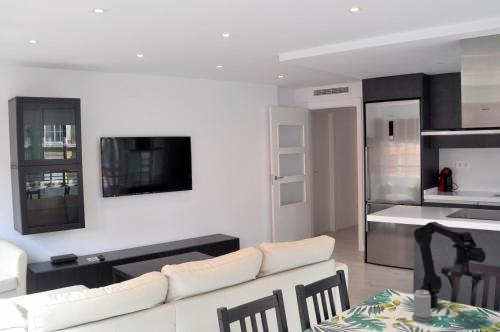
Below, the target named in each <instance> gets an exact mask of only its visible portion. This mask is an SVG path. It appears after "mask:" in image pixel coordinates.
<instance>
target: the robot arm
mask: <svg viewBox="0 0 500 332" xmlns="http://www.w3.org/2000/svg"><path fill="white" fill-rule="evenodd" d="M435 233H437V234H440V235H442V236H445V237H447V238H449V239H450V241H452V242H453V243H454V244H453V245H451V246H452V248H454V249H455V253H456V254H455V260H454V263H453V265H452V266H450V265H445V266H442V268H441V269H440V271H441V272H440V273H441V274H443V276H444V277H446V278H448V281H449V284H450V286H451V289H452V290H454V289H455V287H456V284H455V283H456V278H459V279H460V278H462V277H463V276H466V277H471V279H470V280H471V293H472V294H474V293H475V291H476V289H477V287H478V284H479V283H480V282H481V281H483V280H485V279H486V277H487V276H486V273H485V272H484V271H477V270H476V271H474V272H471V268H470V267H471V266H470V263H471V261H472V262H476V263H480V264H482V263H484V262H485V261H486V257H487V254H486V252H485V251H484V250H483V247H481V246H479V247H478V246H477V245H478V244H477V243H476V242H475V240H474V238H473V237H472V234H471V232H469V231H468V230H464V229H463V230H462V229H455V228H451V227H449V226H447V225H444V224H441V223H439V222H437V221H431V222H428V223H426V224H424V225H422V226H421V227H418V228H416V229H414V231H413V237H414V240H415V242H416V243H417V244H418V245H419V247H420V248H419V249H420V255H421V259H422V265H423V271H424V276H423V279H422V286H420V288H419V289H418V290H426V291H428V292H429V294H430V295H431V308H432V309H433V308H435V307H437V306H439V303H438V296H437V294H440V291H441V289H442V285H443V283H442V279H441V276H439V275H437V273H436V271H435V266H434V260H433V253H432V249H431V244H432V240H433V235H434V234H435Z"/></svg>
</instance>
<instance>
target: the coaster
mask: <svg viewBox="0 0 500 332" xmlns="http://www.w3.org/2000/svg"><path fill="white" fill-rule="evenodd" d="M411 317H412V320H413V321H415V322H417V321H418V323H426V324H427V323H432V322H433V320H434V319H433V318H434V317H433V316H432V315H431V316H430V317H429V318H426V319H422V318H418V317H416V316H415V315H414V313H413V314H412V316H411Z"/></svg>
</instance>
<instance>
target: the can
mask: <svg viewBox="0 0 500 332" xmlns="http://www.w3.org/2000/svg"><path fill="white" fill-rule="evenodd" d="M431 311H432V309H431V295H430V294H429V292H428V291H426V290H419V289H416V290H415V292H414V293H413V314H414V315H415V316H416V317H418V318H422V319H426V318H429V317H430V316H432V312H431Z"/></svg>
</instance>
